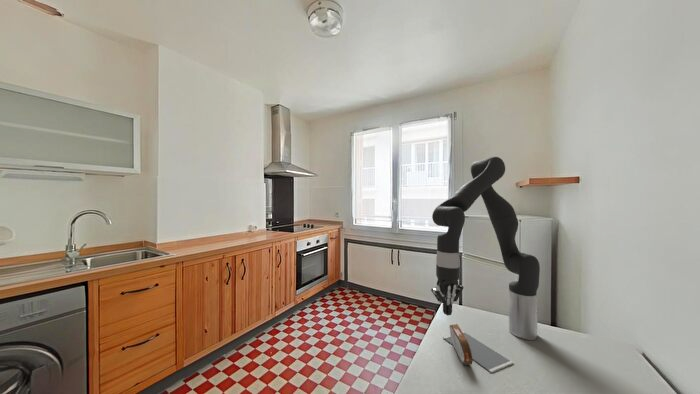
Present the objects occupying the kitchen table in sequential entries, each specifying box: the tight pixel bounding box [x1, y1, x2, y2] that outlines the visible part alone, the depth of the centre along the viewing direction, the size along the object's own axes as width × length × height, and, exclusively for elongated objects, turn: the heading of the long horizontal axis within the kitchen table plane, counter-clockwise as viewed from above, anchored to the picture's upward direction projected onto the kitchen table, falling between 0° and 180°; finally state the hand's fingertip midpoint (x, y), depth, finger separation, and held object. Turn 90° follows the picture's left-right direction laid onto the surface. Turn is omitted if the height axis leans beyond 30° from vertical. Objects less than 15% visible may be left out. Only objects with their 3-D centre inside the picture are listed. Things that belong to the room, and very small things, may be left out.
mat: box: [443, 331, 514, 374], centre depth 86 cm, size 11×20×1 cm, turn 23°
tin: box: [449, 323, 474, 365], centre depth 83 cm, size 15×3×8 cm, turn 174°
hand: (447, 314), depth 81 cm, fingers closed
